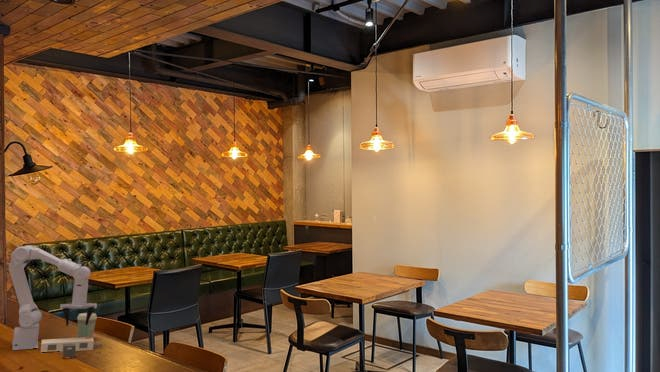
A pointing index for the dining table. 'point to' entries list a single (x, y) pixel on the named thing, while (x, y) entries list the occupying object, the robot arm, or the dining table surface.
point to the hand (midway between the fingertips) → (76, 325)
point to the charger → (69, 350)
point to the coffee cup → (86, 329)
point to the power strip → (57, 344)
